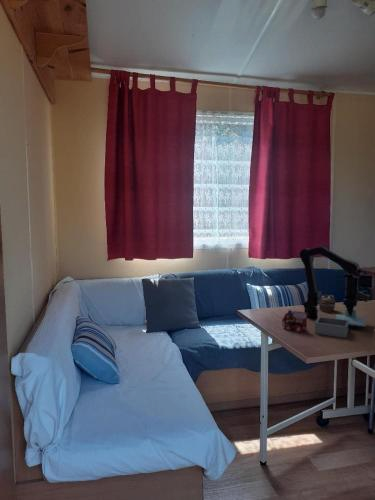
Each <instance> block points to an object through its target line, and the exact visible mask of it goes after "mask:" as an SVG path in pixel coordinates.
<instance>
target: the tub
mask: <svg viewBox="0 0 375 500" xmlns="http://www.w3.org/2000/svg"><path fill="white" fill-rule="evenodd" d="M349 326H350V325H349V320H342V319H335V317H333V318H332V317H326V316H325V317H324V316H318V317H317V318H316V320H315V322H314V334H317V335H325V336H331V337H337V338H344V339H346V338H347V337H348V333H349Z"/></svg>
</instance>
